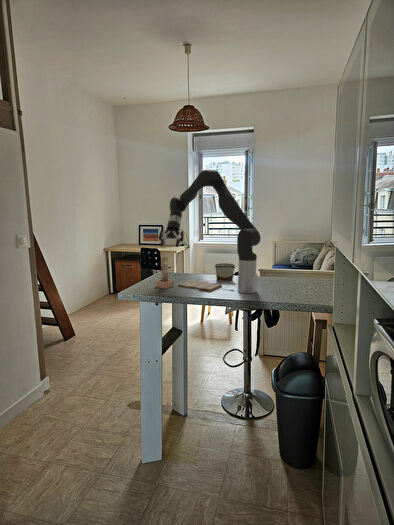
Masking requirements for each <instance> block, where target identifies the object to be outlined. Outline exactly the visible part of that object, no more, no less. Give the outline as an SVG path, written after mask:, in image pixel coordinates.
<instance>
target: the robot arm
mask: <svg viewBox="0 0 394 525" xmlns="http://www.w3.org/2000/svg"><path fill="white" fill-rule="evenodd" d="M205 187H212V188H213V189H214V190H215V192H216V194H217V196H218V198H217V199H218V206H219V209H220V210H221V212H222V213H223V215H224V216H225V217H226V218H227V219H228V220H229V221H230V222H232V223H233V224H234V225H235V226H237V228H238V229H239V231H238V233H237V240H236V245H237V246H236V247H237V249H236V252H237V255H238V271H237V273H238V274H237V292H238V293H240V294H251V295H252V294H255V293H256V292H257V288H258V273H257V262H258V261H257V259H258V258H257V257H258V255H257V253H254V252H253V247H255V246H258V245H259V244H260V242H261V234H260V231H258V229H257V228H256V227H255V226H254V224H253V223H252V222H251V221H250V219H249V218H248V216H247V215H246V214H245V212H244V211H243V209H242V208H241V207H240V205H239V203H238V202H237V200H236V199H235V197H234V196H233V195H232V193H231V192H230V189H229V188H228V187H227V185H226V183H225V181H224V180H223V176H222V175H221V174H220V172H219V171H217V170H216V169H203V170H202V171H200V172H199V174H198V175H197V177H196V178H195V179H194V181H193V182H192V183H191V185H189V187H187V188H186V190H185V191H183V192H182V193H181V195H180V196H179V197H178V196H174V197H172V198H171V199H170V201H169V211H170V214H169V218H168V221H167V224H166V225H167V226H166V228H165V229H166V230H165V231H163V230H160V232H159V234H158V240H159V242H160V246H161V247H164V244H165V241H166V240H168V239H173V240H174V239H175V240H176V243H175V247H176V248H178V247H179V246H180V242H182V243H183V242H184V237H185V235H184V234H185V233H184V231H183V230H181V231H180V228H181V222H182V217H183V214H182V213H184V212H185V211H186V209H187V207H188V206H189V204H190V203H191V202H193V200H194V199H196V198H197V196H198V192H199V191H200V190H201V189H204V188H205ZM179 236H180V237H179Z"/></svg>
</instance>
